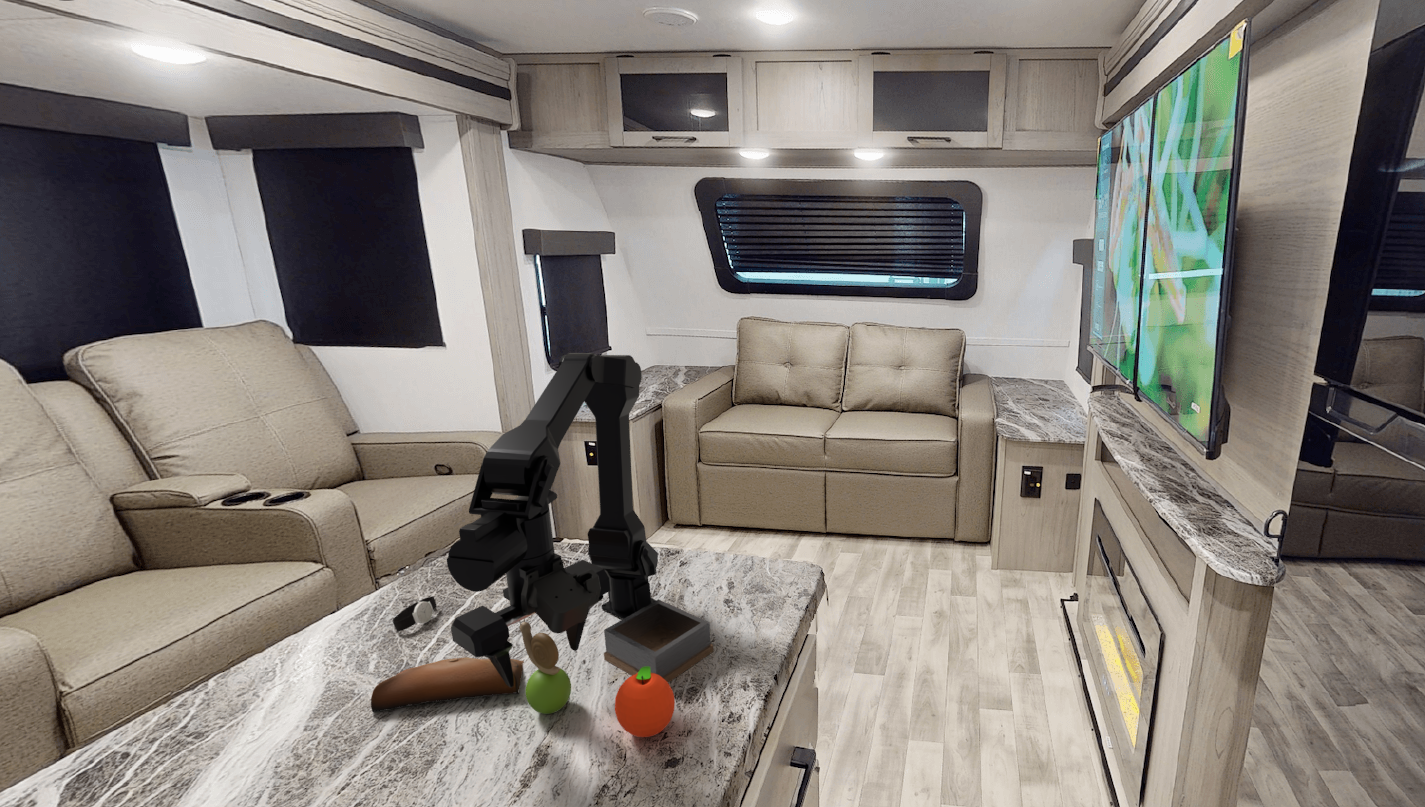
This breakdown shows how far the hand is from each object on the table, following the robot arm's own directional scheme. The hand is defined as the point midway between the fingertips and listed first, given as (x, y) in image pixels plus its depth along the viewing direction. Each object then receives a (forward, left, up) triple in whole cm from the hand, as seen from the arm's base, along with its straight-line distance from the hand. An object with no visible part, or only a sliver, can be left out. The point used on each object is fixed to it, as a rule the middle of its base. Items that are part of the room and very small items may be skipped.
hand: (543, 667), depth 84 cm
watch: (-34, -1, -6) cm, 35 cm away
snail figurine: (0, 0, -6) cm, 6 cm away
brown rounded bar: (-14, -5, -6) cm, 16 cm away
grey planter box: (+3, +16, -6) cm, 17 cm away
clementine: (+12, +5, -6) cm, 15 cm away
